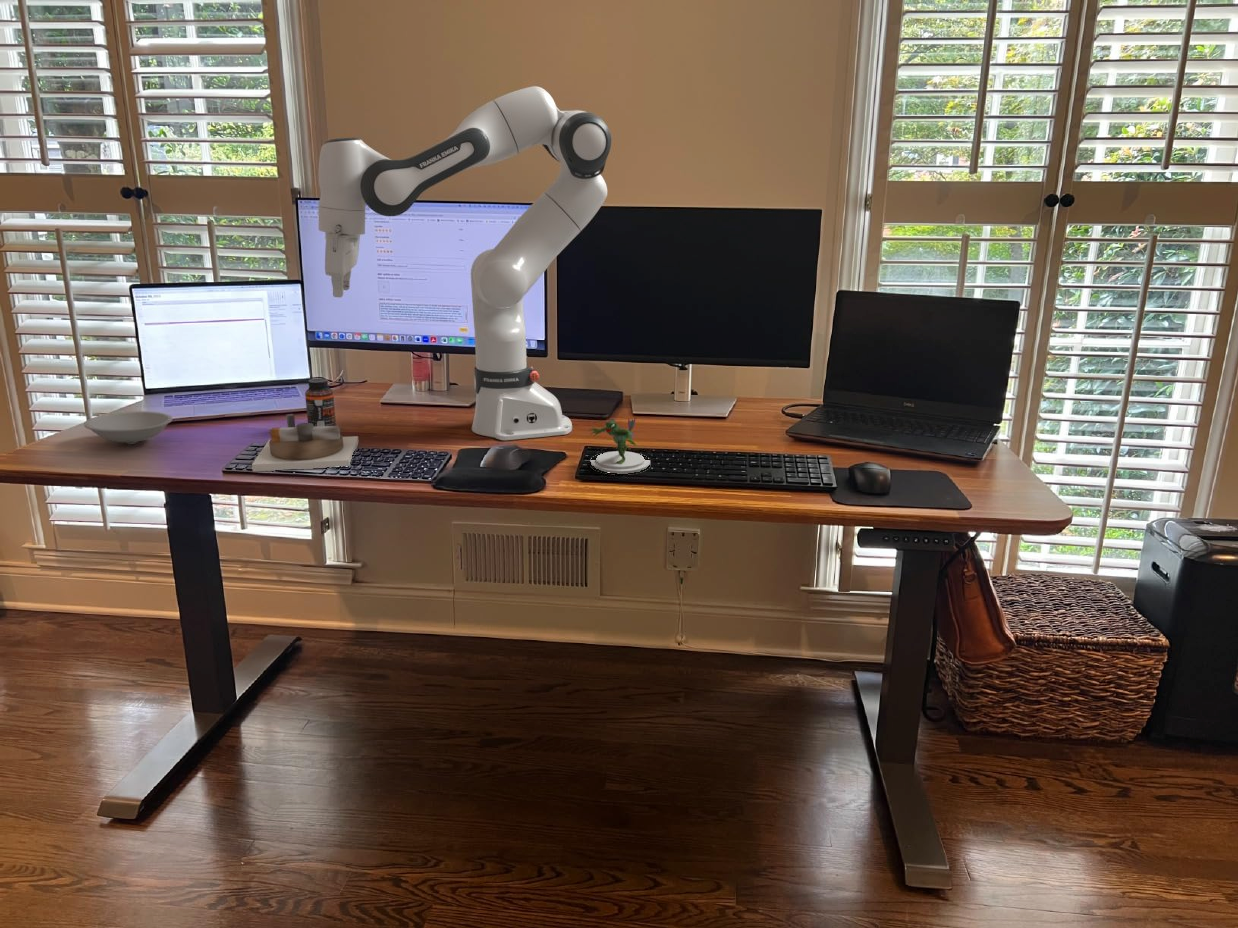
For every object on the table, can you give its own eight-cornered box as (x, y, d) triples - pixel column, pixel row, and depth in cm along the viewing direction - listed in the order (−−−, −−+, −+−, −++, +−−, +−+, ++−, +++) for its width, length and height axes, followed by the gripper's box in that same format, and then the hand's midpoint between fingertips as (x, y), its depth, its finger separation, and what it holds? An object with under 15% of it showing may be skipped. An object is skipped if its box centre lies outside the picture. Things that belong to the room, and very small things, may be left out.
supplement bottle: (328, 434, 194) (323, 383, 190) (303, 432, 195) (297, 382, 191) (341, 426, 199) (336, 377, 196) (317, 424, 200) (312, 376, 197)
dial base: (358, 443, 188) (355, 411, 185) (349, 467, 173) (346, 433, 171) (269, 446, 185) (265, 414, 183) (252, 471, 170) (248, 437, 168)
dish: (191, 436, 192) (188, 413, 190) (145, 456, 178) (141, 432, 177) (120, 430, 195) (116, 409, 193) (70, 450, 181) (65, 427, 180)
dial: (347, 437, 186) (345, 414, 184) (338, 458, 173) (336, 433, 171) (278, 439, 184) (275, 416, 182) (263, 461, 171) (260, 436, 169)
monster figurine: (577, 465, 175) (577, 415, 172) (617, 451, 184) (617, 404, 181) (623, 479, 168) (624, 427, 165) (662, 464, 177) (663, 415, 173)
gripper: (351, 229, 166) (350, 302, 170) (364, 221, 185) (363, 287, 189) (316, 226, 165) (316, 300, 169) (333, 218, 184) (332, 284, 188)
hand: (341, 293), depth 179 cm, fingers open, 8 cm apart
